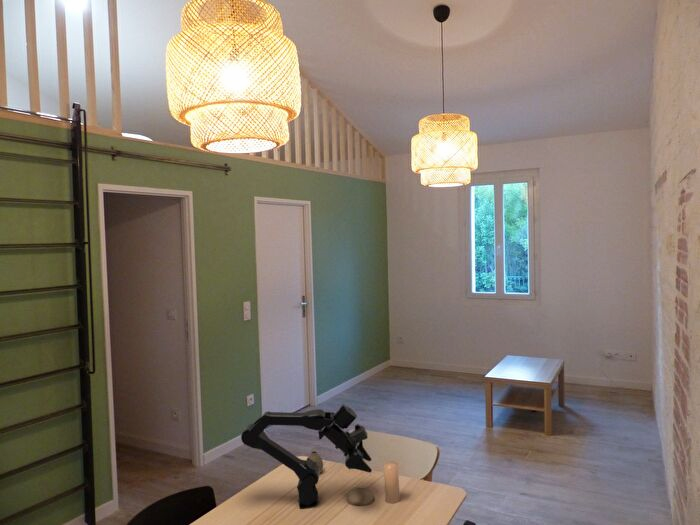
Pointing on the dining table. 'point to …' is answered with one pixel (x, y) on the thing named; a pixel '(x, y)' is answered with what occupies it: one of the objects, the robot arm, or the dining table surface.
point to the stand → (360, 496)
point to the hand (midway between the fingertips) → (370, 465)
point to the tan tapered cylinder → (391, 482)
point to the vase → (316, 459)
